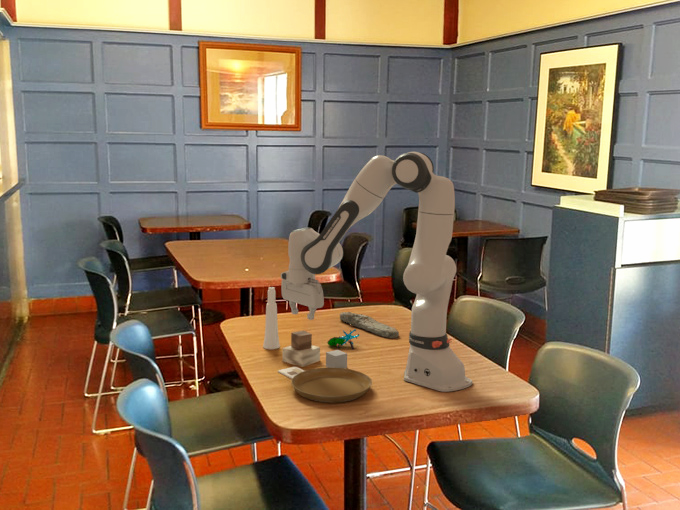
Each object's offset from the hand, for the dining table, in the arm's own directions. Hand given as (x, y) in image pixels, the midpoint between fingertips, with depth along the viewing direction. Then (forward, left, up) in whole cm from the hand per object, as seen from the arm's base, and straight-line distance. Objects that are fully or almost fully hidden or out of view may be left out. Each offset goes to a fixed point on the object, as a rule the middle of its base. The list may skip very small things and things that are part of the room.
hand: (302, 316), depth 228 cm
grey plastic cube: (-12, -6, -16) cm, 20 cm away
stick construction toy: (+5, -22, -16) cm, 27 cm away
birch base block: (0, 0, -16) cm, 16 cm away
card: (-10, +9, -16) cm, 20 cm away
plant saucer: (-28, +8, -16) cm, 33 cm away
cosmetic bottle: (+19, 0, -16) cm, 25 cm away
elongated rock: (+20, -45, -16) cm, 52 cm away
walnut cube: (0, 0, -11) cm, 11 cm away
